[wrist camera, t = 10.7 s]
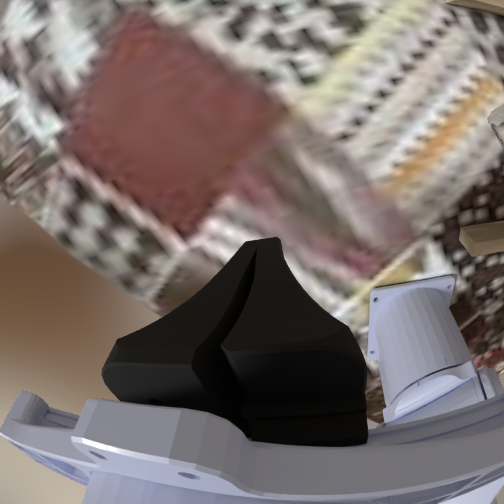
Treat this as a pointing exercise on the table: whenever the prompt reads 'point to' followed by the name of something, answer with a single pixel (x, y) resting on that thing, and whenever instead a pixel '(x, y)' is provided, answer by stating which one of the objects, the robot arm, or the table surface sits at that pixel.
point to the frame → (494, 233)
